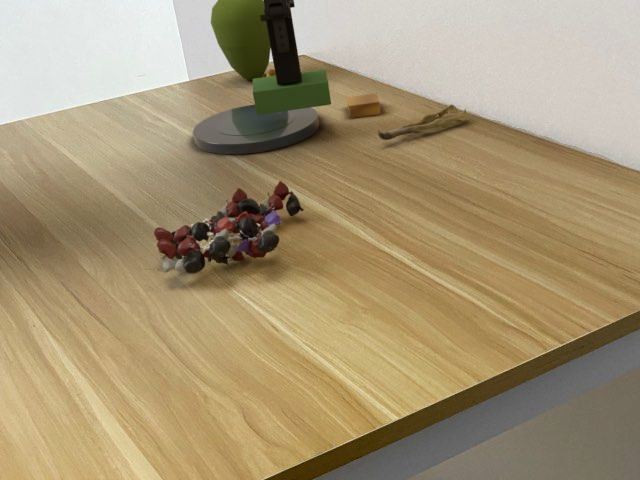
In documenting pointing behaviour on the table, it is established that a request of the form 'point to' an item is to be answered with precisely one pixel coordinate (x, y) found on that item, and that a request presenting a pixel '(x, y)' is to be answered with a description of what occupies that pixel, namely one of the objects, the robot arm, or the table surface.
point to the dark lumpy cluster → (227, 232)
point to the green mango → (242, 35)
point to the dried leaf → (428, 124)
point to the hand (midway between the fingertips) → (288, 77)
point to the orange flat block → (363, 105)
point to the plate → (254, 130)
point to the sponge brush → (291, 89)
